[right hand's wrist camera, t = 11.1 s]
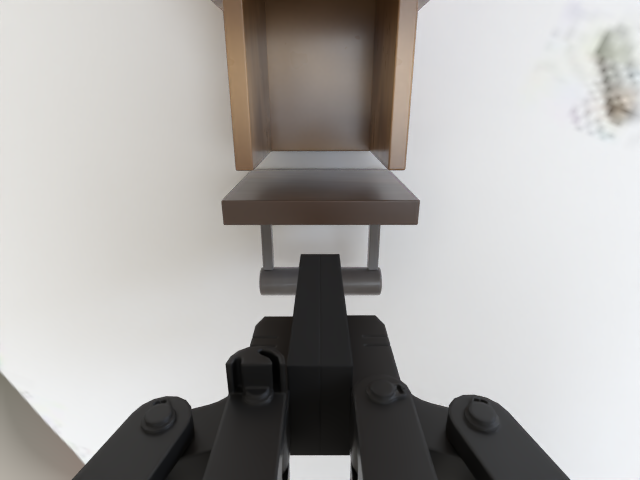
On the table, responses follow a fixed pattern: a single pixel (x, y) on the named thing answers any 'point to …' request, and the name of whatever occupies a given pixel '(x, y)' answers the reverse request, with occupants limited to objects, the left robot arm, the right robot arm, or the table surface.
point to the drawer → (320, 120)
